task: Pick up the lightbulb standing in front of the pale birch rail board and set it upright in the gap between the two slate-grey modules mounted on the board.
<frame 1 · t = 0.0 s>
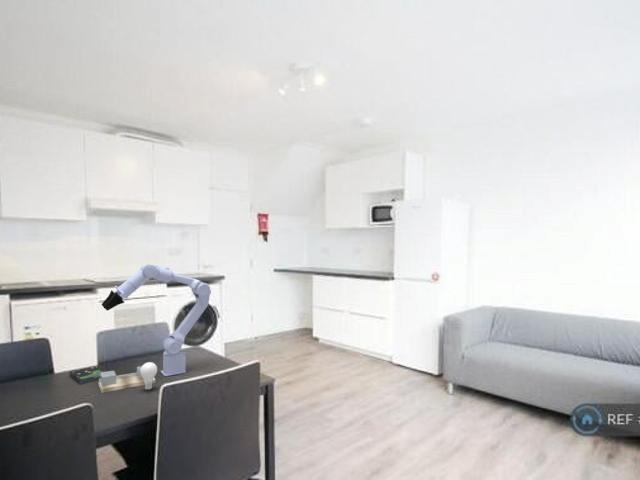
hand: (104, 307, 160), 32 cm above the table, tool tilted 50°, fingers open, 7 cm apart
lightbulb: (148, 390, 155), on the table
disk drive: (87, 378, 168), on the table
rail board: (127, 383, 161), on the table
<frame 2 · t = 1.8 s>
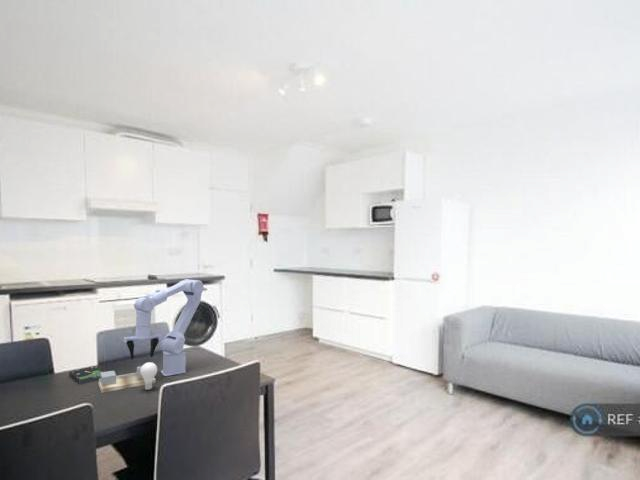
hand: (141, 357, 163), 10 cm above the table, tool pointing down, fingers open, 7 cm apart
nothing on the table moved.
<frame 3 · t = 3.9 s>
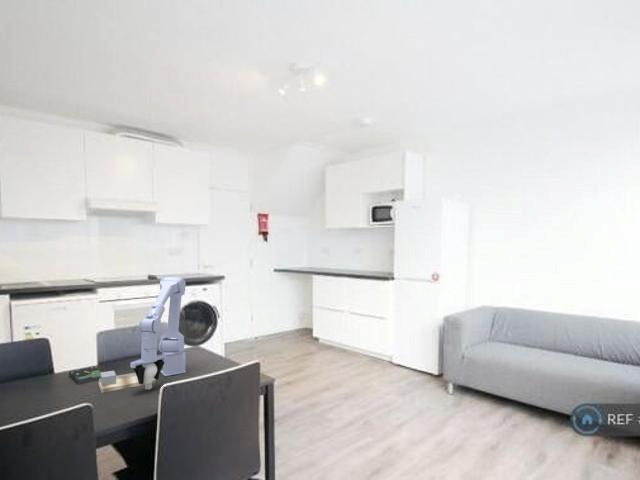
hand: (148, 381, 155), 3 cm above the table, tool pointing down, fingers closed on lightbulb, 6 cm apart
lightbulb: (148, 390, 155), on the table, touching gripper
everything else where it was.
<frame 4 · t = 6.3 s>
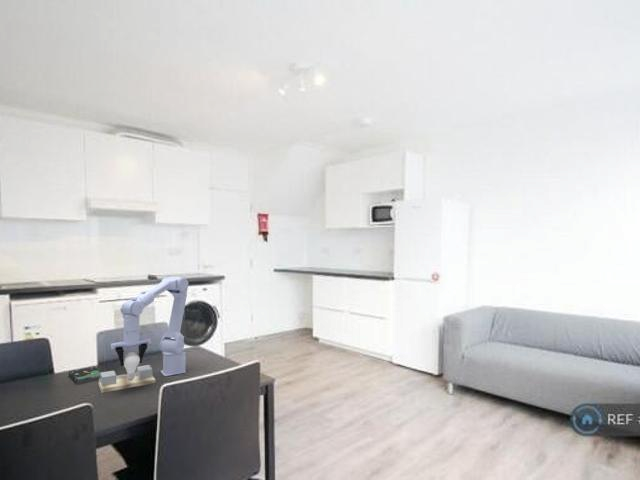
hand: (131, 364, 155), 10 cm above the table, tool pointing down, fingers closed on lightbulb, 6 cm apart
lightbulb: (130, 380, 154), point 4 cm above the table, touching gripper
everything else where it was.
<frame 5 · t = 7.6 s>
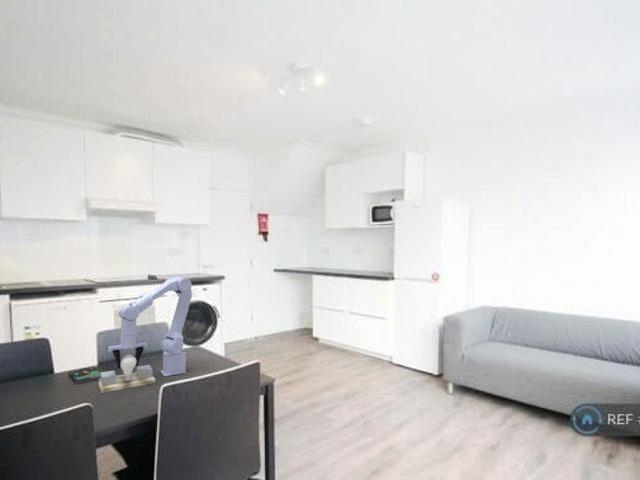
hand: (127, 366, 160), 7 cm above the table, tool pointing down, fingers closed on lightbulb, 6 cm apart
lightbulb: (127, 382, 159), point 1 cm above the table, touching gripper, rail board
everything else where it was.
when the fingers open (6 cm above the table, at t = 8.6 s): lightbulb stays where it is, resting on rail board.
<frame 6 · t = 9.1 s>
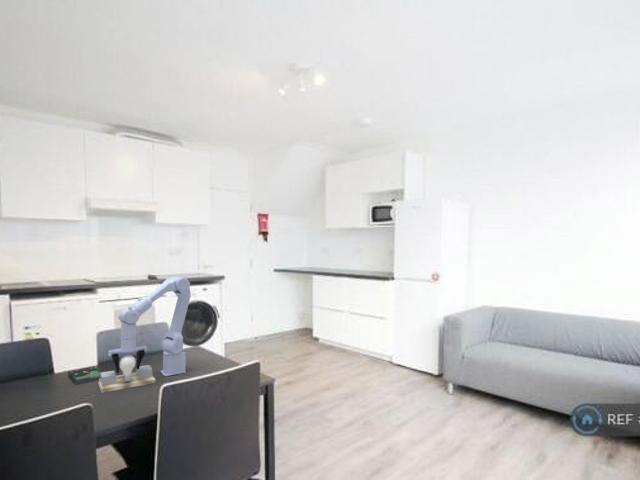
hand: (127, 370, 160), 6 cm above the table, tool pointing down, fingers open, 7 cm apart
lightbulb: (127, 382, 159), point 1 cm above the table, touching rail board
everything else where it was.
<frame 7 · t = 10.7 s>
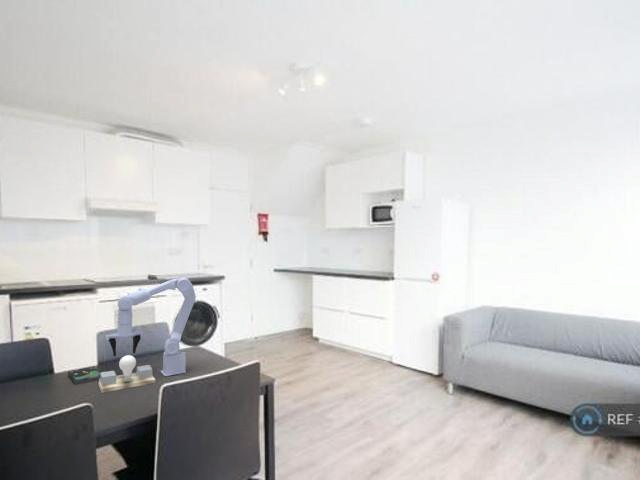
hand: (124, 354, 168), 10 cm above the table, tool pointing down, fingers open, 7 cm apart
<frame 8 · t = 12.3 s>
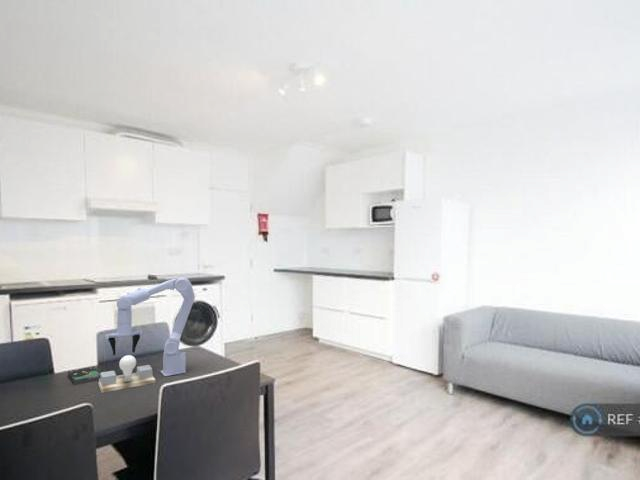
hand: (123, 353, 170), 10 cm above the table, tool pointing down, fingers open, 7 cm apart
at the end: lightbulb 1.3 cm from the target spot on the rail board, point 1.3 cm above the rail board's base; lightbulb tilted 0°; the gripper is holding nothing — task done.
